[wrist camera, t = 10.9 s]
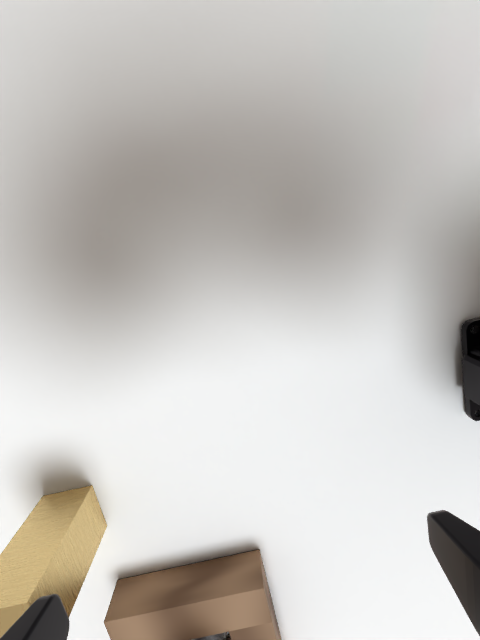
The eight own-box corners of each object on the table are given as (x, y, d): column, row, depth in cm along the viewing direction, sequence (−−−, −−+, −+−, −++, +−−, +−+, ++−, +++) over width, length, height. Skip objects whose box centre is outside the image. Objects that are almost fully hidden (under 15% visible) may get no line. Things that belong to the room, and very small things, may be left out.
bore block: (259, 549, 22) (263, 588, 20) (284, 654, 25) (291, 700, 22) (117, 579, 22) (103, 622, 20) (156, 681, 25) (148, 731, 22)
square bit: (92, 485, 21) (27, 602, 14) (107, 525, 21) (52, 656, 15) (43, 495, 21) (-47, 618, 14) (59, 536, 21) (-18, 671, 15)
